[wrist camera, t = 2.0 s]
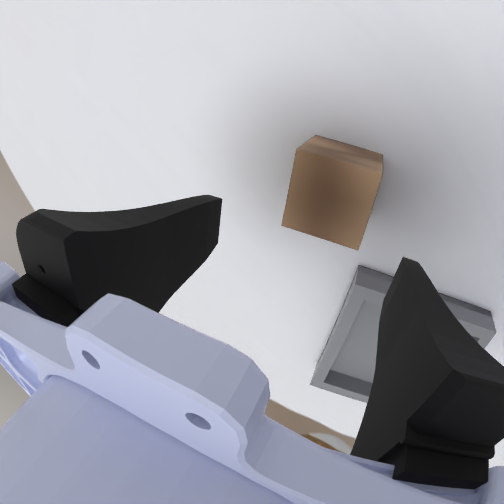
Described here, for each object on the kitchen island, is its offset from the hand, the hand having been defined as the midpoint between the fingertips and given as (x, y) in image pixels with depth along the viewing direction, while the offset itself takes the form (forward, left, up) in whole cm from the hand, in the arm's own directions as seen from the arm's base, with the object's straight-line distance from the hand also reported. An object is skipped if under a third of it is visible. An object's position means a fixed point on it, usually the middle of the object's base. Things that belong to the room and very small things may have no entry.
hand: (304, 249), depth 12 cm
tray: (-9, +12, -10) cm, 18 cm away
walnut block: (0, 0, -10) cm, 10 cm away
